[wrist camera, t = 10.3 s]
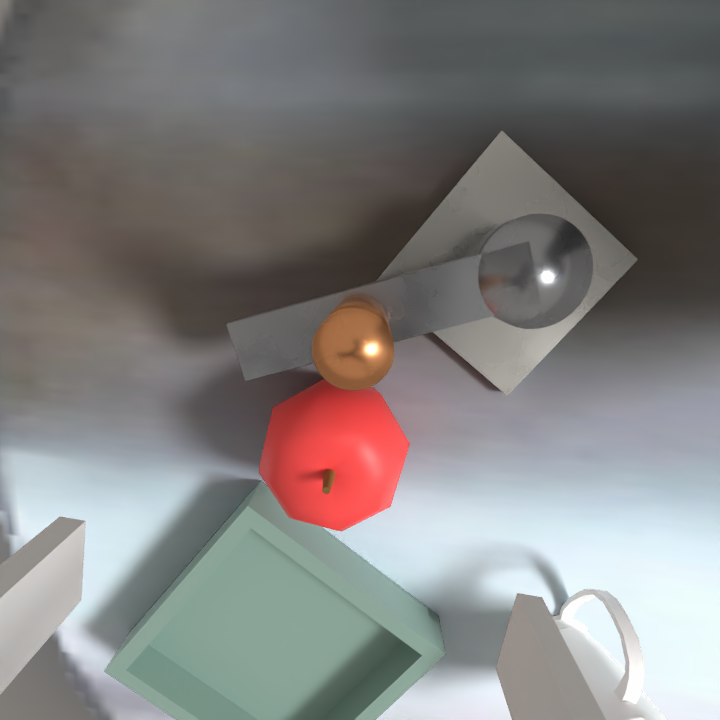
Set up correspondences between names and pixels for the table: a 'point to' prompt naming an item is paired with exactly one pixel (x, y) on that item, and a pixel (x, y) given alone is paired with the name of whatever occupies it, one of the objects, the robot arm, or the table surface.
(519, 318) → the crank
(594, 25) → the table surface
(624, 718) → the cup
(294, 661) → the tray
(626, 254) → the crank post
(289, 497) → the apple
